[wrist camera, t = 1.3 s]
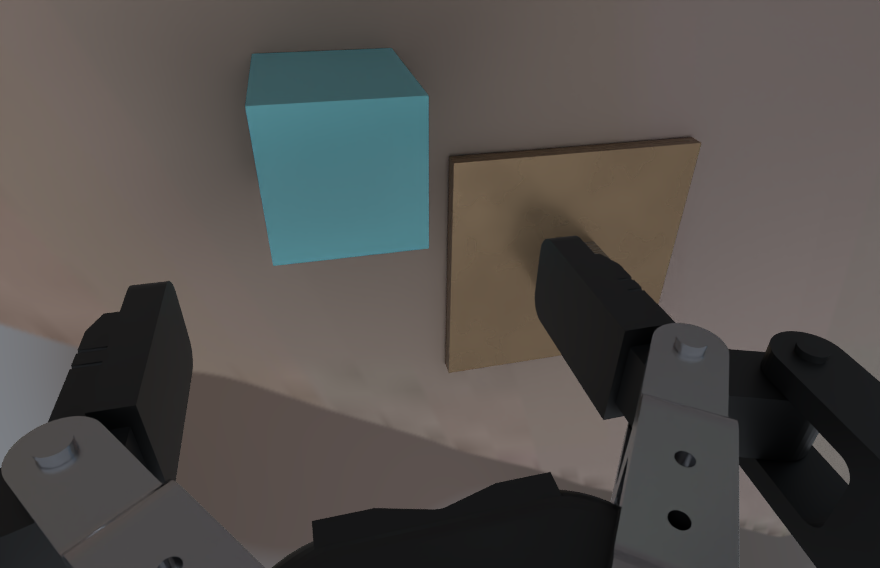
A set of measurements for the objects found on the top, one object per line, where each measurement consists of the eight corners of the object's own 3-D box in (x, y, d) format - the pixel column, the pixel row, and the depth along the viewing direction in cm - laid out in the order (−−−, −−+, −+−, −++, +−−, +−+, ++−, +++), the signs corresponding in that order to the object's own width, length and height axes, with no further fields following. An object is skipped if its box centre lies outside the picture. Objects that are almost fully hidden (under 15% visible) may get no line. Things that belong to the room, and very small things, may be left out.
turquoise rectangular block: (391, 47, 22) (428, 95, 17) (395, 174, 25) (428, 248, 20) (252, 53, 21) (244, 106, 16) (272, 184, 24) (273, 265, 19)
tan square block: (691, 137, 28) (798, 198, 22) (640, 333, 34) (713, 419, 29) (449, 156, 25) (500, 231, 20) (445, 363, 32) (482, 463, 26)
